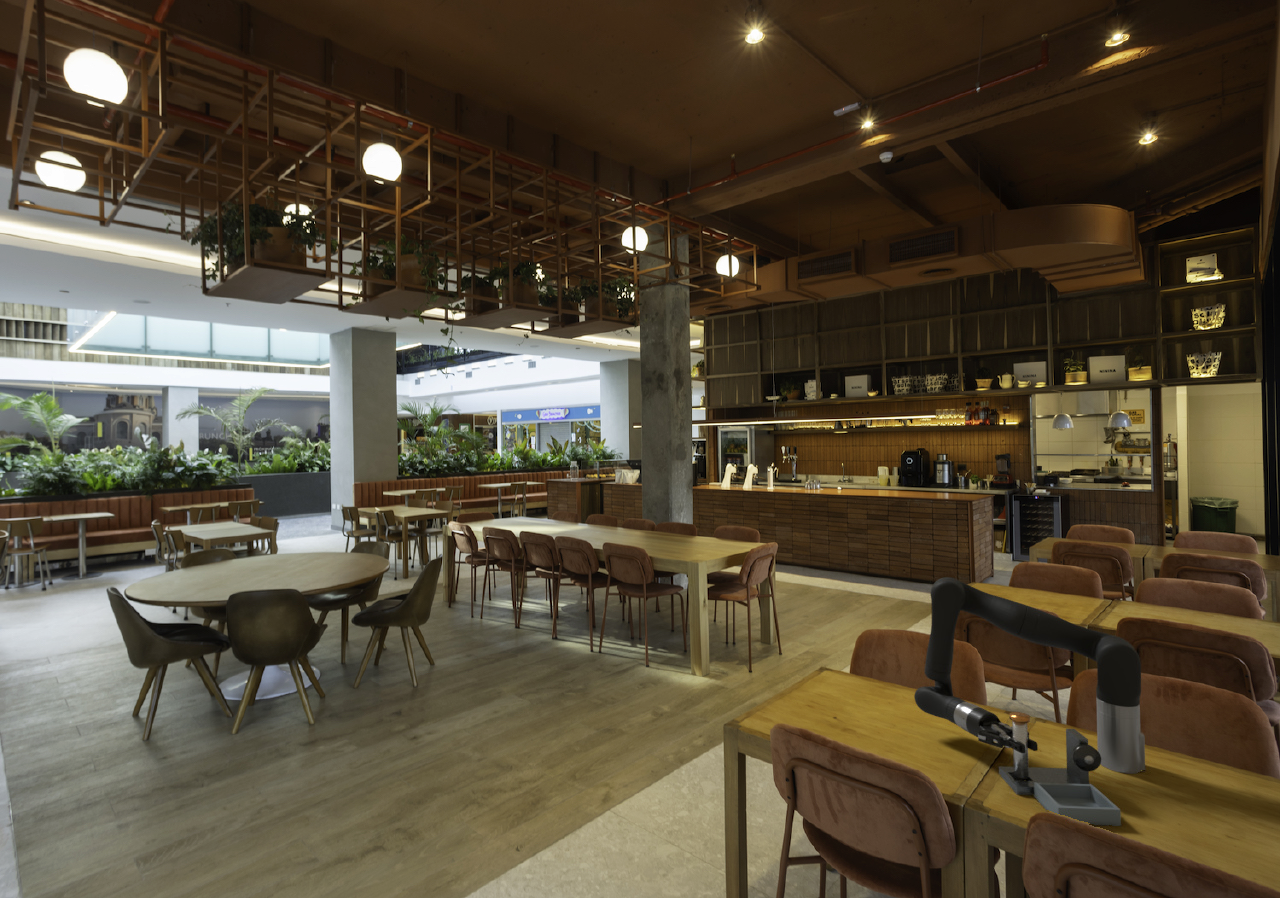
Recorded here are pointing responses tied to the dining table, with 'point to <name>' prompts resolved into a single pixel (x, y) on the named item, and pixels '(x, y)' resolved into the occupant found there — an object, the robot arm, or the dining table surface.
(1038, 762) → the dining table surface
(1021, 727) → the lock pin
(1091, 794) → the tray
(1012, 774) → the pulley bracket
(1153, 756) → the dining table surface
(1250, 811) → the dining table surface
